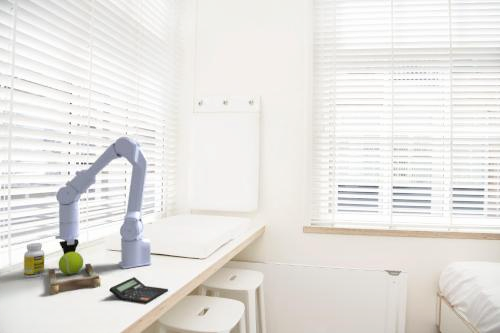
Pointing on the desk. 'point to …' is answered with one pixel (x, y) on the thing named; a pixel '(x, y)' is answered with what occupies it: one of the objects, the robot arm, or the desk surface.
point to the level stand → (73, 281)
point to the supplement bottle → (34, 260)
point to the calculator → (136, 291)
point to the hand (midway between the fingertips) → (69, 262)
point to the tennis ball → (70, 263)
